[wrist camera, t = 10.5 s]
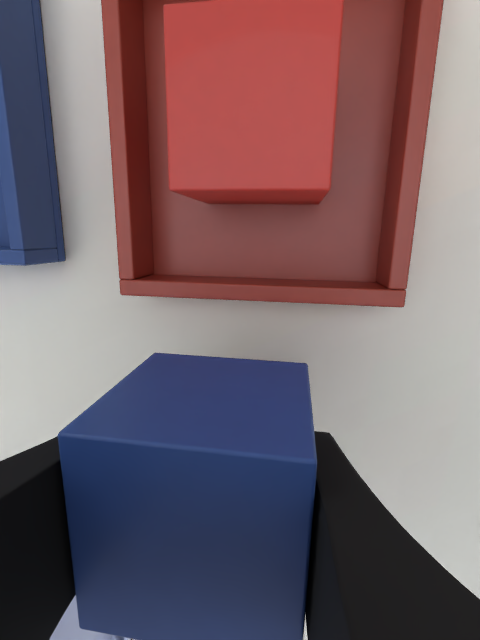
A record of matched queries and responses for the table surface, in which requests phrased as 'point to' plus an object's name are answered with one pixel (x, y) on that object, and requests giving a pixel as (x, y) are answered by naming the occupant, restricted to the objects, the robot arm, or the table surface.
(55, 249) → the blue tray
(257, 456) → the blue block
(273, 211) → the red tray
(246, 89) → the red block
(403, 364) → the table surface
